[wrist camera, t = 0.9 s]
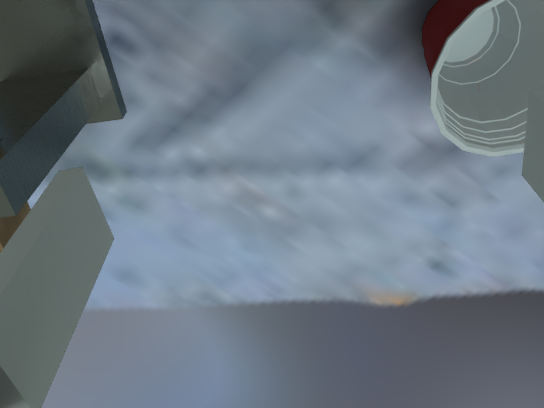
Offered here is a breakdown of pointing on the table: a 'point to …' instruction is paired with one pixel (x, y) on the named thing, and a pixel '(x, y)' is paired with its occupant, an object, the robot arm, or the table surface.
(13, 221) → the rail
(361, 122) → the table surface
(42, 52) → the grey notched post stand
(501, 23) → the plastic cup
